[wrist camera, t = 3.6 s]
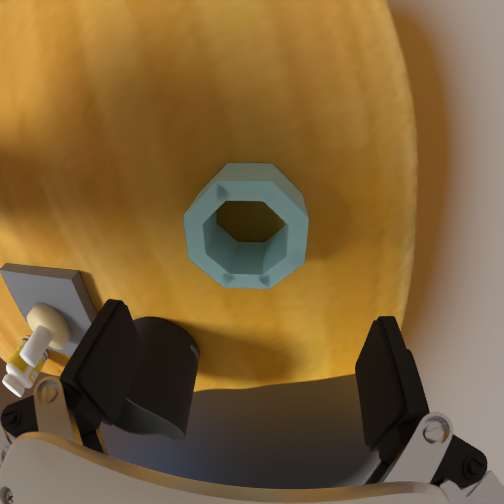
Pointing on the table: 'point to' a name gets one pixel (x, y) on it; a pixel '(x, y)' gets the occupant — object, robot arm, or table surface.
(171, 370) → the pen holder
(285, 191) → the ring
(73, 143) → the table surface
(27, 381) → the supplement bottle
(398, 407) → the robot arm
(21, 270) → the post stand
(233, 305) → the table surface
